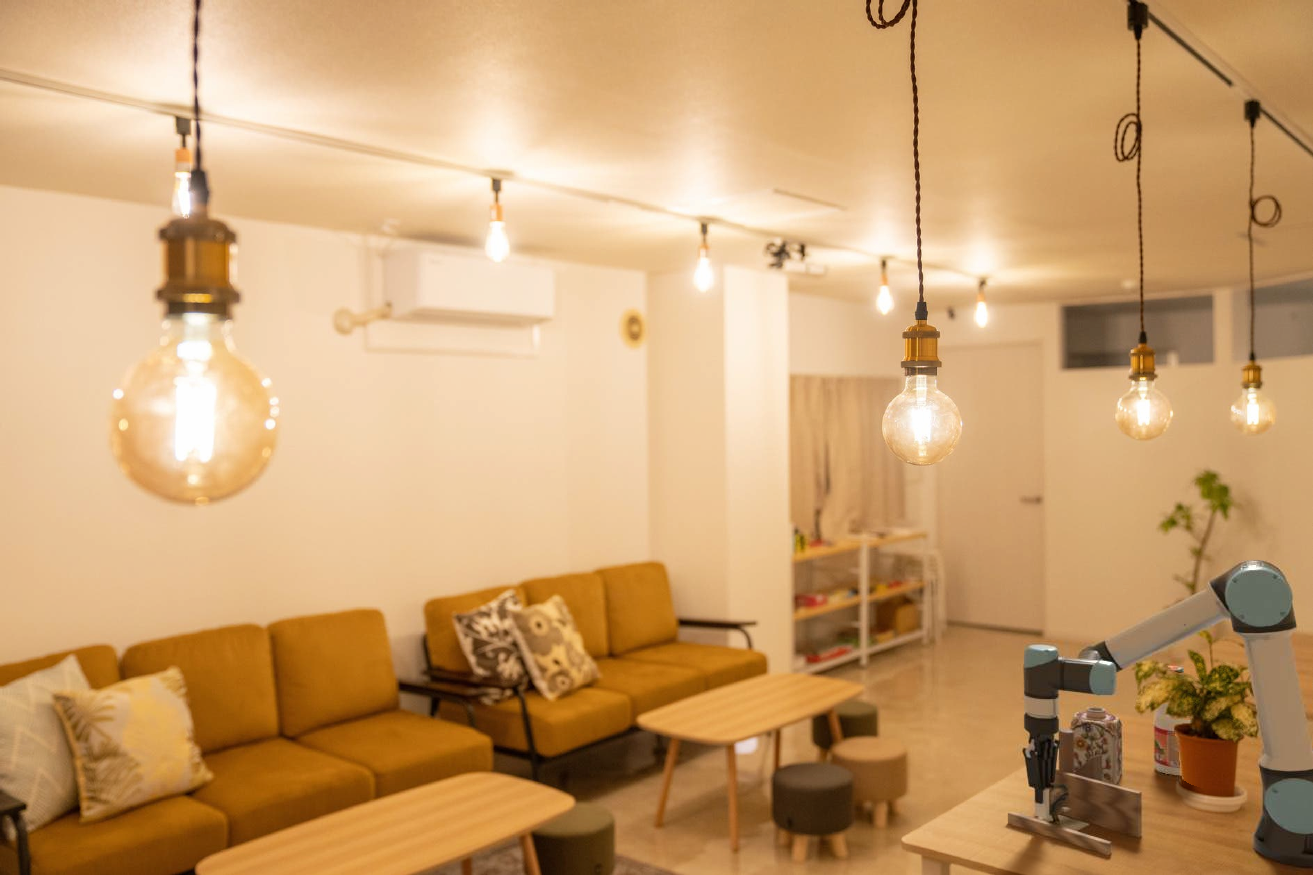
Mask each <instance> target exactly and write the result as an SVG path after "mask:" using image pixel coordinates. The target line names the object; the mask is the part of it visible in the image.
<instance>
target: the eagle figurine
mask: <svg viewBox="0 0 1313 875" xmlns="http://www.w3.org/2000/svg"><path fill="white" fill-rule="evenodd" d="M1068 791H1069V790H1068V787H1066V785H1064V784H1062V785H1061V784H1059V785H1056V786H1054V787H1053V789H1051V790H1050V793H1049V815H1051V816H1052V818H1053V821H1049V822H1048V823H1051V824H1055V825H1058V826H1061V825H1060V820H1059V818H1058V815H1062V813H1064V812H1066V811H1069V810H1071V809H1070V808H1068V807H1061V805H1062V804H1063V803H1064V801H1065V799H1066V798H1067V797H1068V796H1069V792H1068ZM1038 817H1039V816H1038ZM1039 819H1040V820H1042V819H1044V818H1042V817H1039Z"/></svg>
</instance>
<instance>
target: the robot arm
mask: <svg viewBox="0 0 1313 875" xmlns="http://www.w3.org/2000/svg"><path fill="white" fill-rule="evenodd" d="M1293 598H1294V597H1293V590H1292V588H1291V586H1290V584H1289V582H1288V581H1287V578H1286V576H1285V574H1284V573H1283V572H1282V570H1281V569H1280V568H1278V567H1277V566H1276V565H1274V564H1273V563H1270V562H1268V561H1267V560H1266V561H1265V560H1261V559H1249V560H1244V561H1242V562H1239V563H1238V564H1236V565H1234V566H1232V567H1231V568H1230V569H1229V570H1227V571H1224V573H1222V574H1220V575H1219V576H1217V577H1215V578H1213V579H1212V580H1210V581H1208V582H1207V584H1206V587H1205V589H1203V590H1201V591H1199V592H1197V593H1195V594H1193V595H1191V596H1189V597H1187V598H1184V599H1183V600H1181V601H1179V602H1177V603H1175V604H1172V605H1171V606H1168V607H1167V608H1165V609H1163V610H1162V611H1159V612H1157V613H1156V614H1153V615H1151V616H1149V617H1148V618H1145V619H1143V620H1141V621H1140V622H1138V623H1136V624H1134V625H1132V626H1129V627H1128V628H1126V629H1124V630H1122V631H1119V632H1118V633H1117V634H1116V633H1115V634H1114V635H1112V636H1110V637H1108V638H1106V639H1105V640H1102V641H1100V642H1099V643H1097V644H1093V645H1092V644H1091V645H1089V646H1087V647H1085V648H1084V649H1082V650H1081V651H1080V652H1079V654H1078V656H1077V658H1075V657H1066V656H1065V657H1064V656H1060V654H1059V650H1058V648H1057V647H1055V646H1052V645H1047V644H1031V645H1028V646H1026V648H1025V649H1024V654H1023V666H1022V667H1023V669H1022V670H1023V697H1022V698H1023V710H1024V712H1025V713H1024V714H1023V729H1024V730H1025V731H1026V732H1028V733H1029V737H1028V747H1023V748H1022V754H1023V757H1024V761H1025V769H1026V778H1027V782H1028V783H1027V784H1028V787H1029V788H1032V789H1034V816H1035V817H1042V818H1045V819H1046V818H1048V817H1049V788H1052V789H1053V787H1054V785H1051V783H1054V781H1055V773H1056V770H1057V762H1058V756H1059V745H1060V740H1059V738H1058V739H1057V738H1055V735H1056V734H1057V733H1058V734H1059V730H1060V717H1059V714H1060V701H1059V699H1060V697H1059V696H1060V693H1059V691H1061V692H1062V691H1063V692H1073V693H1080V694H1087V695H1094V696H1095V695H1096V696H1113V695H1114V694H1115V693H1116V690H1117V674H1118V673H1119V672H1120V671H1123V670H1125V669H1126V668H1129V667H1131V666H1132V665H1135V664H1137V663H1139V662H1141V661H1142V660H1144V659H1147V658H1149V657H1151V656H1154V655H1155V654H1157V653H1159V652H1161V651H1163V650H1166V649H1168V648H1169V647H1171V646H1173V645H1176V644H1178V643H1180V642H1182V641H1183V640H1186V639H1188V638H1191V637H1192V636H1194V635H1196V634H1199V633H1200V632H1203V631H1205V630H1207V629H1208V628H1211V627H1213V626H1215V625H1217V624H1219V623H1221V622H1223V621H1225V620H1230V622H1231V627H1232V631H1233V633H1234V634H1235V635H1237V636H1239V637H1240V638H1241V639H1242V642H1243V646H1244V651H1245V657H1246V662H1247V667H1248V674H1249V677H1250V678H1249V679H1250V682H1251V684H1250V685H1251V689H1252V693H1253V699H1254V704H1255V708H1256V713H1257V719H1258V726H1259V730H1260V736H1261V740H1262V741H1261V742H1262V746H1263V747H1262V755H1261V757H1260V758H1259V759H1258V762H1257V763H1258V767H1259V768H1258V769H1259V773H1260V779H1261V786H1262V789H1261V790H1262V800H1261V802H1262V804H1261V805H1262V806H1261V807H1262V811H1261V815H1260V818H1259V820H1258V822H1257V825H1256V828H1255V830H1254V833H1253V836H1252V838H1253V840H1252V842H1253V844H1252V845H1253V846H1252V847H1253V849H1254V850H1255V851H1256V852H1257V853H1259V854H1260V855H1262V856H1264V857H1266V858H1268V859H1271V860H1273V861H1276V862H1280V863H1283V864H1286V865H1292V866H1297V867H1304V868H1313V747H1312V741H1311V737H1310V731H1309V725H1308V719H1307V715H1306V711H1305V710H1306V709H1305V706H1304V701H1303V695H1302V691H1301V690H1302V689H1301V685H1300V680H1299V674H1298V670H1297V664H1296V660H1295V654H1294V649H1293V644H1292V639H1291V636H1292V634H1293V633H1295V631H1296V630H1297V629H1298V627H1297V626H1298V625H1297V620H1296V615H1295V611H1294V606H1293V604H1294V603H1293V600H1294V599H1293ZM1184 624H1185V625H1186V626H1185V625H1184Z"/></svg>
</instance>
